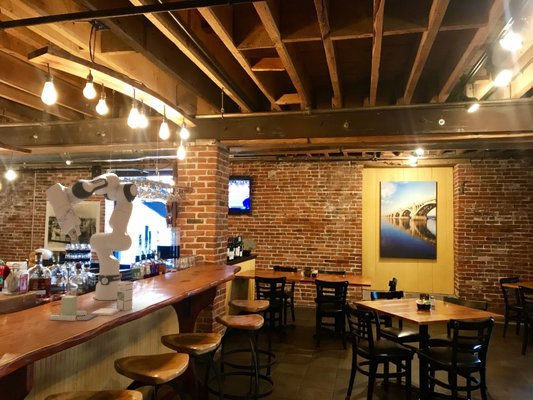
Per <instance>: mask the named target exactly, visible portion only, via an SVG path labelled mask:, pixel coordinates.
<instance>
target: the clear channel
mask: <svg viewBox="0 0 533 400" xmlns="http://www.w3.org/2000/svg"><path fill="white" fill-rule="evenodd" d="M84 315H85V316H84ZM77 316H81V317H79V318H77ZM77 316H64V315H61V314H60V315H59V314H58V315H57V314H50V315H49V320H50V321H76V322H88V321H90V320H93V319H95V318H96V317H98V316H99V315H98V314H91V313H87V310H77Z"/></svg>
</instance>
